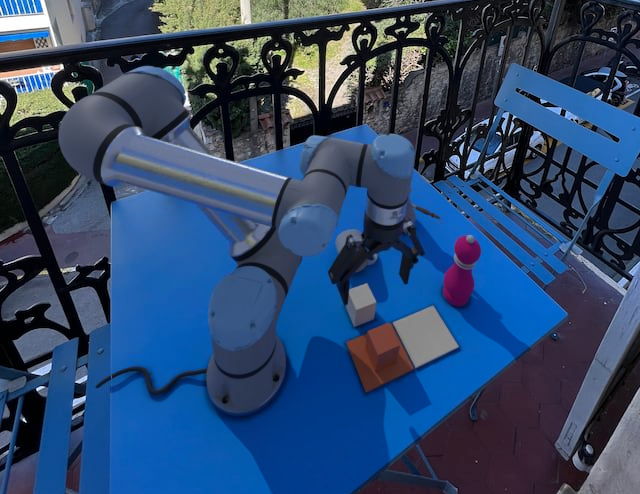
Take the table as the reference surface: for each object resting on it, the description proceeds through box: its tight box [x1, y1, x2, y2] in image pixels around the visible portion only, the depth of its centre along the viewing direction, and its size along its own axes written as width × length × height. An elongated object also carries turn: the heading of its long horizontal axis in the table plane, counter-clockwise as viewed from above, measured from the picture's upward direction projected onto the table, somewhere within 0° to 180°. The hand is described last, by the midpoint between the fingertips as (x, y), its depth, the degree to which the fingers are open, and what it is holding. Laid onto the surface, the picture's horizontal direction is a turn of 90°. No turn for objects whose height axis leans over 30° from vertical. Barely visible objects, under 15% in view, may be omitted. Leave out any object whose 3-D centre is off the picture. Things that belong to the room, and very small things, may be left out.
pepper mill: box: [442, 234, 482, 308], centre depth 95 cm, size 7×7×20 cm
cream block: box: [345, 282, 377, 328], centre depth 92 cm, size 5×5×6 cm
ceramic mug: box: [334, 228, 378, 274], centre depth 104 cm, size 11×8×8 cm
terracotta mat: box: [346, 322, 415, 394], centre depth 85 cm, size 11×10×1 cm
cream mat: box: [392, 305, 460, 369], centre depth 90 cm, size 11×10×1 cm
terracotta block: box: [365, 322, 400, 372], centre depth 84 cm, size 5×5×6 cm
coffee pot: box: [404, 186, 443, 226], centre depth 112 cm, size 21×12×15 cm, turn 35°
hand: (374, 288), depth 83 cm, fingers open, 13 cm apart
